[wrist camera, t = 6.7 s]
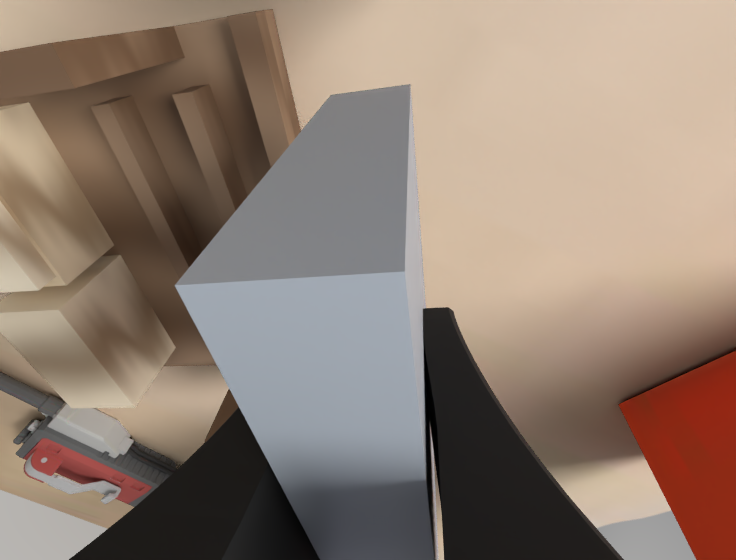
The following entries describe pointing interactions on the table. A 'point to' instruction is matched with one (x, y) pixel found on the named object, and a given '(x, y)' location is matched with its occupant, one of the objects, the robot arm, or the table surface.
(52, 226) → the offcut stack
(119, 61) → the walnut rack
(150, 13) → the table surface
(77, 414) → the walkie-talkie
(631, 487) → the table surface
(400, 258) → the grey rectangular slab
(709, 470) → the file binder
